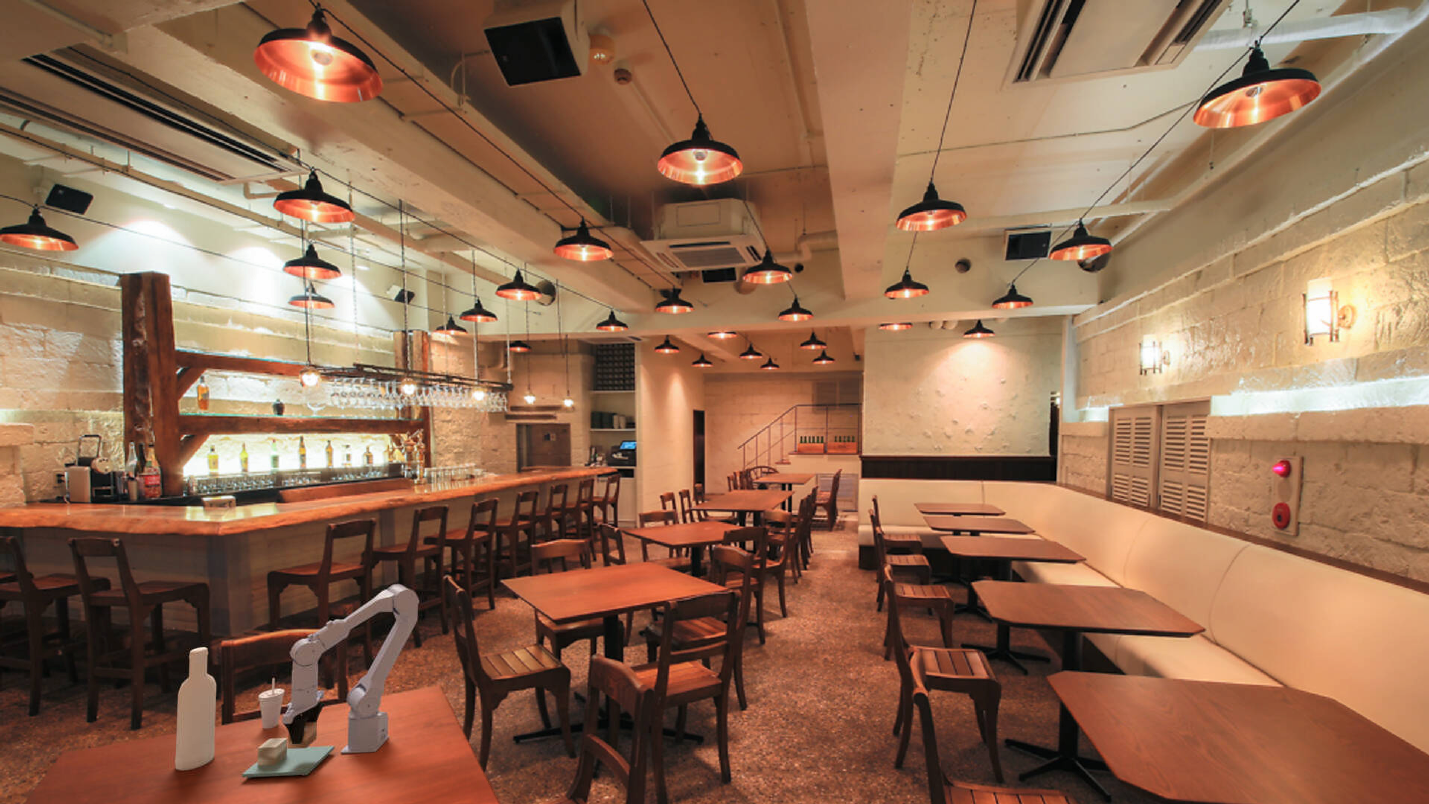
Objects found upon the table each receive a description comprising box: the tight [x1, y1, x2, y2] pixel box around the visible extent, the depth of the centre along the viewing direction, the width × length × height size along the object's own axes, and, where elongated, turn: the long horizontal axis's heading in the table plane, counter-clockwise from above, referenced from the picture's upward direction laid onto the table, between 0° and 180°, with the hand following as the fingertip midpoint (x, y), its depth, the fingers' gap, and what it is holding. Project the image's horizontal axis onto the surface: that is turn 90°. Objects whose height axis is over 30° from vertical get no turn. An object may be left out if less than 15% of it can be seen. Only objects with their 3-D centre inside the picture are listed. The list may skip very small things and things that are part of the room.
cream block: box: [257, 737, 288, 765], centre depth 155 cm, size 4×4×4 cm
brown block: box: [287, 721, 318, 749], centre depth 155 cm, size 4×4×4 cm
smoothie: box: [257, 677, 285, 730], centre depth 177 cm, size 6×6×14 cm
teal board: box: [241, 745, 336, 780], centre depth 155 cm, size 16×12×2 cm
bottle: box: [174, 647, 217, 771], centre depth 158 cm, size 8×8×30 cm
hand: (303, 738), depth 155 cm, fingers closed on brown block, 4 cm apart
